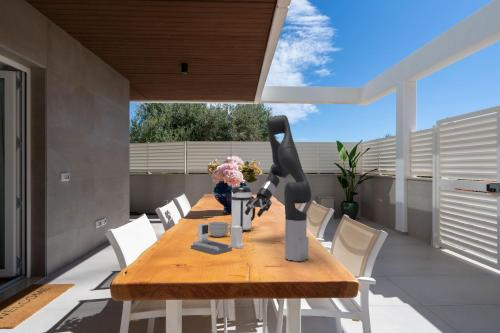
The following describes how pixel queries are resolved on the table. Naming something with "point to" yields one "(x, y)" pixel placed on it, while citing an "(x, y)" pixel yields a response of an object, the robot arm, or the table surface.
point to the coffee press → (241, 207)
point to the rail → (208, 242)
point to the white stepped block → (236, 237)
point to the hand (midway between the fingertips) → (252, 214)
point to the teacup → (218, 228)
